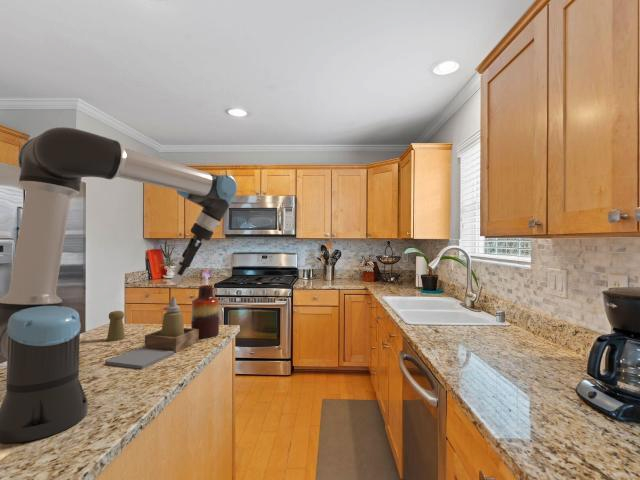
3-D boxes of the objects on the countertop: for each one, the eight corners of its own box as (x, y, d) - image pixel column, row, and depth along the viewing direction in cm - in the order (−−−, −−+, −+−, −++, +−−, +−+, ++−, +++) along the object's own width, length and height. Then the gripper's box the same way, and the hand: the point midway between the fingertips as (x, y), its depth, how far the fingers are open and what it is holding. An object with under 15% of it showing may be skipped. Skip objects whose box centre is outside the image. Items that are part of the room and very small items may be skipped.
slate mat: (142, 369, 99) (142, 365, 99) (105, 364, 102) (105, 361, 102) (174, 354, 112) (174, 351, 112) (140, 350, 116) (140, 347, 116)
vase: (186, 338, 131) (187, 287, 132) (197, 331, 142) (198, 284, 142) (213, 339, 131) (213, 287, 131) (222, 331, 142) (222, 284, 142)
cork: (110, 337, 132) (111, 309, 132) (127, 336, 133) (127, 309, 133) (103, 341, 126) (104, 312, 126) (121, 341, 127) (121, 312, 127)
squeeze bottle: (175, 349, 117) (176, 299, 117) (155, 348, 119) (156, 298, 119) (188, 343, 125) (189, 295, 125) (169, 341, 127) (170, 295, 127)
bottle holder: (175, 352, 114) (176, 338, 114) (144, 349, 117) (144, 335, 117) (198, 342, 126) (198, 329, 126) (169, 339, 130) (170, 326, 130)
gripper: (216, 236, 110) (184, 291, 109) (212, 227, 133) (185, 273, 132) (195, 225, 107) (162, 282, 106) (194, 218, 130) (167, 265, 129)
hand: (175, 277), depth 119 cm, fingers open, 13 cm apart
